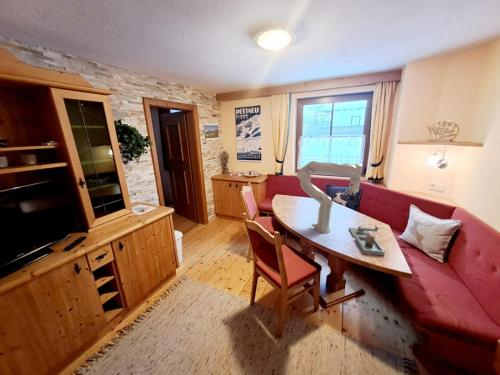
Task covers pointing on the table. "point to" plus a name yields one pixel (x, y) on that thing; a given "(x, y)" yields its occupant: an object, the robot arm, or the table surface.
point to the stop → (369, 241)
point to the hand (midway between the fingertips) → (351, 200)
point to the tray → (374, 250)
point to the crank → (368, 229)
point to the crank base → (354, 231)
